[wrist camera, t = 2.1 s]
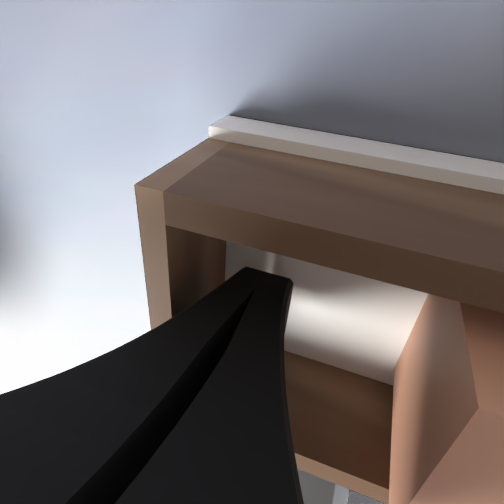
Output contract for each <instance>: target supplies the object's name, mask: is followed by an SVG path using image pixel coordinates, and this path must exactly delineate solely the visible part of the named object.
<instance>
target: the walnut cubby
mask: <svg viewBox="0 0 504 504" xmlns="http://www.w3.org/2000/svg"><path fill="white" fill-rule="evenodd" d="M134 186H135V195H136V203H137V212H138V221H139V229H140V238H141V246H142V255H143V264H144V272H145V281H146V290H147V298H148V307H149V315H150V324H151V330H152V329H154V328H156V327H157V326H159V325H161V324H162V323H164V322H166V321H167V320H169V319H171V318H172V317H174V316H175V315H177V314H179V313H180V312H182V311H183V310H185V309H187V308H188V307H189V306H191V305H192V304H194V303H195V302H197V301H198V300H200V299H201V298H203V297H204V296H206V295H207V294H208V293H210V292H211V291H213V290H214V289H215V288H217V287H218V286H219V285H221V284H222V283H224V282H225V264H226V241H229V242H233V243H237V244H240V245H244V246H248V247H252V248H256V249H260V250H263V251H267V252H271V253H275V254H279V255H283V256H286V257H290V258H294V259H298V260H302V261H305V262H309V263H313V264H317V265H321V266H325V267H328V268H332V269H336V270H340V271H344V272H348V273H351V274H355V275H359V276H363V277H367V278H370V279H374V280H378V281H382V282H386V283H390V284H393V285H397V286H401V287H405V288H409V289H413V290H416V291H420V292H424V293H428V294H432V295H435V296H439V297H443V298H447V299H451V300H455V301H458V302H462V303H466V304H470V305H474V306H478V307H481V308H485V309H489V310H493V311H497V312H500V313H504V195H503V194H498V193H493V192H488V191H482V190H477V189H472V188H467V187H462V186H456V185H451V184H446V183H441V182H436V181H430V180H425V179H420V178H415V177H409V176H404V175H399V174H394V173H389V172H383V171H378V170H373V169H368V168H363V167H357V166H352V165H347V164H342V163H336V162H331V161H326V160H321V159H316V158H310V157H305V156H300V155H295V154H290V153H284V152H279V151H274V150H269V149H264V148H258V147H253V146H248V145H243V144H237V143H232V142H227V141H222V140H217V139H211V138H208V139H206V140H205V141H203V142H201V143H200V144H198V145H197V146H195V147H193V148H192V149H190V150H189V151H187V152H185V153H184V154H182V155H181V156H179V157H178V158H176V159H174V160H173V161H171V162H170V163H168V164H166V165H165V166H163V167H162V168H160V169H158V170H157V171H155V172H154V173H152V174H151V175H149V176H147V177H146V178H144V179H143V180H141V181H139V182H138V183H136V184H135V185H134ZM284 362H285V381H286V394H287V403H288V412H289V420H290V427H291V435H292V442H293V447H294V453H295V458H296V464H297V469H300V470H302V471H305V472H307V473H310V474H312V475H315V476H317V477H320V478H322V479H325V480H327V481H330V482H332V483H335V484H337V485H340V486H342V487H345V488H347V489H350V490H352V491H355V492H357V493H360V494H362V495H365V496H367V497H370V498H372V499H375V500H377V501H380V502H382V503H385V504H389V483H390V459H391V435H392V410H393V385H390V384H387V383H383V382H380V381H377V380H374V379H371V378H368V377H365V376H362V375H359V374H356V373H353V372H350V371H347V370H343V369H340V368H337V367H334V366H331V365H328V364H325V363H322V362H319V361H316V360H313V359H310V358H307V357H303V356H300V355H297V354H294V353H291V352H288V351H285V350H284Z"/></svg>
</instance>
